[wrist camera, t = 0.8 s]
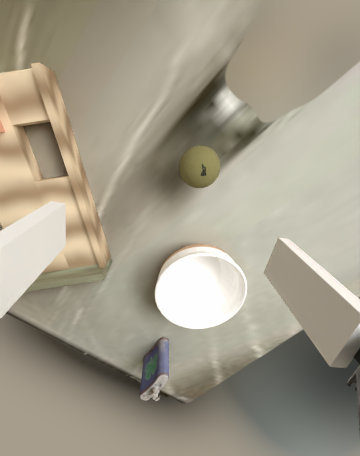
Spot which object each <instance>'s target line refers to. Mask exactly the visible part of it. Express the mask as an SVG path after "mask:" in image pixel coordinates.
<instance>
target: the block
mask: <svg viewBox="0 0 360 456" xmlns="http://www.w3.org/2000/svg"><path fill="white" fill-rule="evenodd" d="M4 132H5V129H4V127H3V125H2V122H1V120H0V133H4Z"/></svg>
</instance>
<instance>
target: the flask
mask: <svg viewBox="0 0 360 456" xmlns="http://www.w3.org/2000/svg"><path fill="white" fill-rule="evenodd" d="M168 379H169V341H168V339H167V338H164V337H163V338H161V339H159V340H158V342H157V343H156V344H155V345H154V346H153V347H152V350H151V351H149V353H147V354H146V355H145V356H144V363H143V371H142V379H141V387H140V396H139V397H140V399H142V400H148V399H150V398H151V397H152V396H153V397H152V398H153V399H156V398H157V397H158V393H159V391H160V390H161V389H162V387H163V386H164V385H165V383H166V382H167V381H168ZM159 397H160V396H159ZM157 400H159V398H157V399H156V400H155V401H157Z"/></svg>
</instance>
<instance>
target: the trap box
mask: <svg viewBox="0 0 360 456" xmlns="http://www.w3.org/2000/svg"><path fill="white" fill-rule="evenodd" d="M31 66H32V68H31V69H24V70H18V71H11V72H4V73H0V120H1V122H2V125H3V127H4V129H5V132H4V133H0V224H1V226H2V228H3V229H4V228H6V227H8V226H10V225H11V224H13V223H15V222H16V221H18V220H20V219H22V218H23V217H25V216H27V215H28V214H30V213H32V212H33V211H35V210H37V209H39V208H40V207H42V206H44V205H45V204H47V203H49V202H51V201H54V202H60V203H65V209H66V246H65V247H64V248H63V250H62V251H61V252H60V253H59V254H58V255H57V256H56V257H55V258H54V260H53V261H52V262H51V263H50V264H49V265H48V266H47V267H46V269H45V270H44V271H43V272H42V273H41V274H40V275H39V276H38V277H37V279H36V280H35V281H34V282H33V283H32V284H31V285H30V286H29V288H28V289H27V290H26V291H25V292H27V291H34V290H40V289H47V288H53V287H60V286H66V285H73V284H79V283H86V282H92V281H99V280H104V279H105V277H106V274H107V272H108V270H109V267H110V265H111V263H112V259H111V256H110V252H109V249H108V246H107V243H106V239H105V236H104V233H103V229H102V226H101V223H100V220H99V216H98V213H97V210H96V207H95V203H94V200H93V197H92V193H91V190H90V187H89V184H88V180H87V177H86V174H85V171H84V167H83V164H82V161H81V158H80V154H79V151H78V148H77V144H76V141H75V138H74V135H73V131H72V128H71V125H70V122H69V118H68V115H67V112H66V108H65V105H64V102H63V99H62V95H61V92H60V89H59V86H58V82H57V79H56V76H55V72H54V71H52V70H51V69H49V68H47V67H46V66H44V65H42V64H41V63H33V64H31ZM46 122H51V125H52V128H53V131H54V134H55V137H56V140H57V143H58V146H59V149H60V152H61V155H62V158H63V161H64V164H65V167H66V170H67V173H68V175H66V176H59V177H53V178H46V179H43V177H42V175H41V172H40V169H39V167H38V164H37V161H36V159H35V156H34V154H33V151H32V148H31V146H30V143H29V141H28V138H27V135H26V133H25V130H24V128H23V126H26V125H33V124H39V123H46Z"/></svg>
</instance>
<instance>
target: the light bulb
mask: <svg viewBox="0 0 360 456" xmlns="http://www.w3.org/2000/svg"><path fill="white" fill-rule="evenodd" d="M179 171H180V175H181V177H182V179H183V180H184V182H185V183H187V184H188V185H190V186H192V187H194V188H204V187H207V186H209V185H211V184H212V183H213V182H214V181H215V180H216V178H217V177H218V175H219V172H220V161H219V158H218V156H217V154H216V153H215V152H214V151H213V150H212V149H210V148H209V147H206V146H194V147H192V148H190V149H188V150H187V151H186V152H185V153H184V154H183V155H182V157H181V160H180V163H179Z"/></svg>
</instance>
